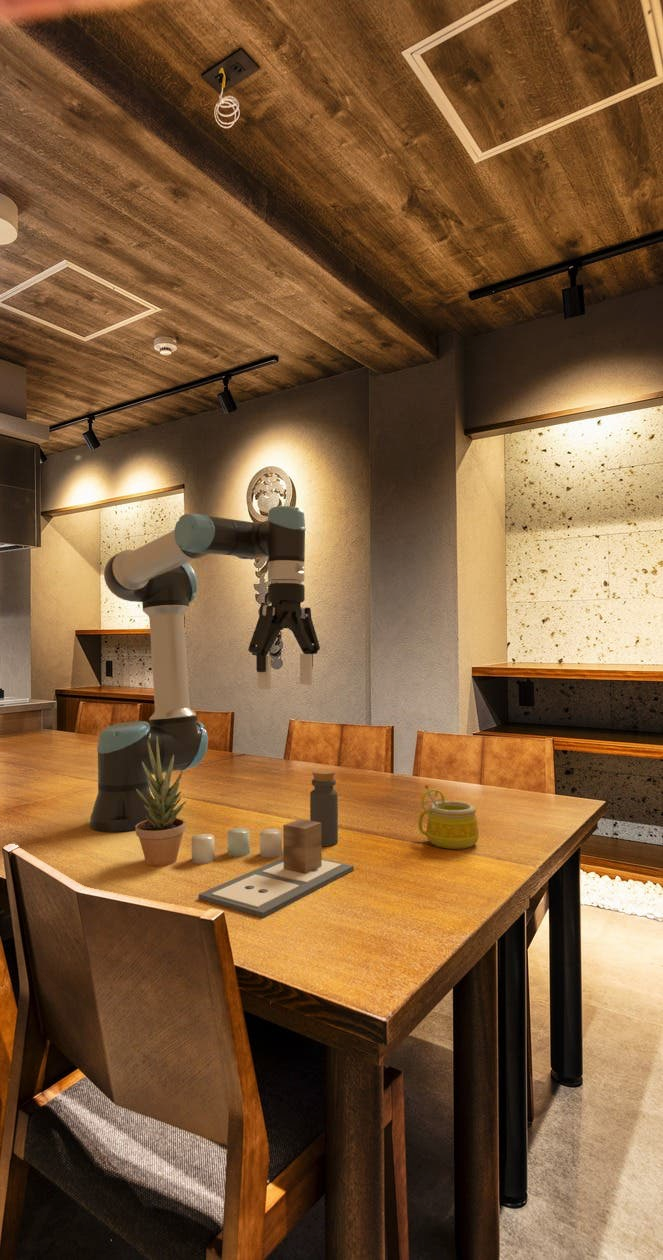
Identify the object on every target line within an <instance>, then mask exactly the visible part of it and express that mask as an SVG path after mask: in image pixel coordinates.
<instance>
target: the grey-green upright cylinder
mask: <svg viewBox="0 0 663 1260" xmlns="http://www.w3.org/2000/svg"><path fill="white" fill-rule="evenodd" d="M250 836H251V835H250V829H249V828H246V827H233V828H230V829H228V830H227V855H228V856H229V857H234V858H235V857H237V858H238V857H240V858H241V857H245V856H248V855H250V852H251V851H250V850H251V849H250V848H251V847H250V838H251V837H250Z"/></svg>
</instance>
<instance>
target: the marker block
mask: <svg viewBox="0 0 663 1260" xmlns="http://www.w3.org/2000/svg"><path fill="white" fill-rule="evenodd" d="M282 826H283V827H282V828H283V831H282V853H283V857H284V869H287V870H291V871H295V872H300V873H304V874H306V873H308V872H310V871H312V870H315V869H317V868H319V867H321V866H322V859H323V858H322V846H321V823H320V822H315V821H310V820H309V819H308V820H307V819H302V818H299V819H296V820H293V821H290V822H287V823H285V824H283V825H282Z"/></svg>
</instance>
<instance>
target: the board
mask: <svg viewBox="0 0 663 1260" xmlns="http://www.w3.org/2000/svg"><path fill="white" fill-rule="evenodd" d="M353 871H354V865H353V864H346V863H343V862H338V861H334V860H330V859H329V860H328V859H324V858H322V866H321V867H319V868H317V869H315V870H312V871H310V872H308V873H306V874H304V873H300V872H295V871H291V870H287V869H284V856H283V857H282V858H279V859H277V860H274V861H273V862H270V863H268V864H264V865H263V866H260V867H259V868H256V869H253V870H251V871H249V872H246V873H244V874H242V875H239V876H238V877H235V878H233V879H231V880H228V881H225V882H224V883H221V884H219V885H216V886H214V887H211V888H210V889H207V890H205V891H203V892H200V893H199V894H198V900H201V901H204V902H208V903H212V904H215V905H219V906H222V907H224V908H229V909H232V910H235V911H239V912H242V913H246V914H249V915H252V916H255V917H260V918H266V917H268V916H269V915H272V914H273V913H275V912H277V911H279V910H281V909H282V908H285V907H286V906H288V905H290V904H293V903H294V902H296V901H297V900H300V899H302V898H303V897H306V896H308V895H309V894H311V893H313V892H314V891H317V890H319V889H320V888H322V887H324V886H326V885H328V884H330V883H332V882H334V881H336V880H337V879H340V878H341V877H343V876H345V875H347V874H349V873H351V872H353Z"/></svg>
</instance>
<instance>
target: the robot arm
mask: <svg viewBox="0 0 663 1260" xmlns="http://www.w3.org/2000/svg"><path fill="white" fill-rule="evenodd" d="M267 513H268V515H267V520H264V521H257V522H255V521H254V522H253V521H246V520H240V519H234V518H233V519H231V518H225V517H220V516H214V515H213V516H212V515H208V514H203V513H184V514H183V515H181V516H180V517H179V519H178V521H176V523H175V526H174V529H173V530H171V531H169V532H168V533H165V534H163V535H162V536H159V537H157V538H155V539H153V540H151V541H150V542H148V543H146V544H144V545H142V546H140V547H138V548H135V549H134V550H133V549H126V550H122V551H120V552H118V553H116V554H114V555H113V556H111V557H110V559H109V560H108V561H107V563H106V564H105V567H104V569H103V570H104V572H103V577H104V582H105V585H106V586H107V588H108V589H109V591H110V592H111V593H112V595H114V596H116V597H117V598H119V599H121V600H124V601H127V602H136V603H141V604H142V605H141V606H142V612H143V613H145V615H147V616H148V618H149V630H150V631H149V634H150V650H151V668H152V681H153V683H152V684H153V699H154V711H153V714H151V716H150V717H149V718H148V720H149V721H144V720H136V721H135V720H134V721H129V722H128V721H125V722H121V723H117V724H115V723H114V724H113V725H112V724H111V725H110V726H107V727H104V728H103V729H102V730H101V731H100V732H99V734H98V737H97V738H98V739H97V749H96V751H97V789H98V790H97V795H96V798H95V801H94V805H93V808H92V812H91V813H90V818H89V820H90V821H89V822H90V823H89V825H90V828H92V829H93V830H95V831H101V832H110V833H111V832H113V833H114V832H127V831H128V832H129V831H136V827H135V826H136V825H137V824H138V823H141V822H143V821H147V820H148V819H147V817H146V816H148V817H149V818H150V819H152V818H151V817H150V815H149V812H148V811H147V809H146V808H145V807H144V805H145V806H147V807H148V808H149V806H148V805H147V803H146V802H145V801H144V800H143V799H142V798H141V797H140V795H139V794H138V793H137V791H136V788H137V789H138V790H139V791H140V792H141V793H142V792H143V793H145V794H146V795H148V796H149V797H151V795H150V794H152V792H151V790H150V787H149V784H148V780H149V779H148V777H147V775H146V772H145V770H144V767H143V765H142V762H143V763H144V764H145V766H146V768H147V769H148V771H149V773H150V774H151V775H154V772H153V768H152V764H151V760H150V755H149V750H148V741H149V744H150V747H151V750H152V753H153V756H154V759H155V762H156V766H157V751H156V750H157V748H156V742H157V739H156V738H157V736H158V744H159V753H160V763H161V767H162V774H164V773H166V772H167V770H168V767H169V764H170V761H171V759H172V757H173V754H174V762H173V769H172V772H174V771H175V772H176V771H185V770H187V769H191V768H195V767H196V766H198V765H200V764H201V763H202V761H203V759H204V758H205V756H206V753H207V751H208V747H209V746H208V745H209V738H208V737H209V736H208V731H207V730H206V729H205V728H206V727H205V726H204V724H203V723H202V722H200V721H198V717H197V713H195V712H194V711H193V710H192V709H191V704H190V693H189V692H190V690H189V689H190V688H189V674H188V662H187V661H188V659H187V646H186V645H187V644H186V633H185V632H186V631H185V614H186V613H187V612H188V611H189V610H190V603H192V602H193V601H194V600H195V599H196V596H197V595H196V593H198V580H197V575H196V572H195V571H194V568H193V567H192V566H191V565H190V564H189V563H191V562H193V561H195V560H197V559H200V558H203V557H205V556H208V555H223V556H231V557H232V556H233V557H236V558H238V559H241V560H255V559H260V558H268V559H267V581H268V582H270V583H269V584H268V585H267V601H268V602H270V603H271V604H270V605H261V606H260V607H259V612H258V613H259V616H258V619H257V622H256V625H255V628H254V631H253V633H252V636H251V637H252V638H251V640H250V642H249V643H250V644H249V646H248V652H249V653H251V655H252V656H255V657H256V663H255V664H256V669H255V670H256V672H257V689H260V690H271V688H272V687H271V686H272V685H271V683H272V682H271V680H272V675H271V673H272V672H271V671H272V670H271V669H272V665H271V664H272V663H271V662H272V661H271V660H272V659H271V658H272V656H271V655H268V654H269V652H270V650H271V648H272V647H273V646H274V643H275V641H276V639H277V638H278V636H279V634H280V632H282V630H284V629H288V630H289V631H290V632H291V633H292V634H293V636H294V638H295V640H296V642H297V644H298V645H299V647H300V650H301V651H302V653H300V654H299V685H302V686H303V685H304V686H305V685H306V686H312V685H313V668H314V667H313V666H314V655H316V654H318V652H319V651H320V649H321V645H320V643H319V640H318V635H317V633H316V629H315V626H314V623H313V619H312V610H311V607H307V606H306V607H301V603H303V602H305V600H306V599H305V594H306V593H305V592H306V591H305V589H306V587H305V585H304V584H303V582H304V581H305V557H306V556H305V555H306V554H305V551H306V549H305V548H306V530H307V528H306V523H305V521H306V520H305V513H304V510H303V509H301V508H300V507H296V506H291V505H281V506H273V507H271V508H270V509H269V510H268V512H267ZM157 769H158V768H157ZM145 798H146V797H145ZM146 799H147V798H146ZM147 800H148V799H147ZM148 801H149V800H148ZM149 803H150V804H151V802H150V801H149Z"/></svg>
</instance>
